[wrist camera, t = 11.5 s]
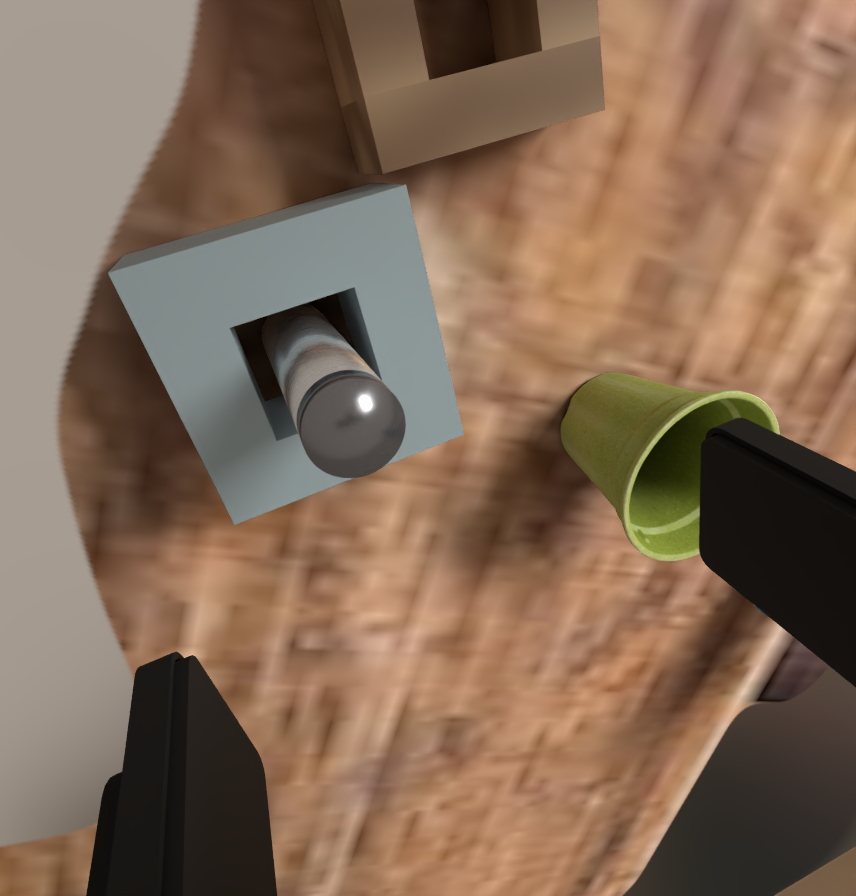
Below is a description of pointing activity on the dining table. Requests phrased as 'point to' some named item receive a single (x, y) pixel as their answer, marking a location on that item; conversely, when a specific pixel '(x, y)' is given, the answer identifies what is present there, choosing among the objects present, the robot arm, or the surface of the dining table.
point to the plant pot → (651, 452)
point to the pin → (332, 394)
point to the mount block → (457, 78)
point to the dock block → (276, 289)
